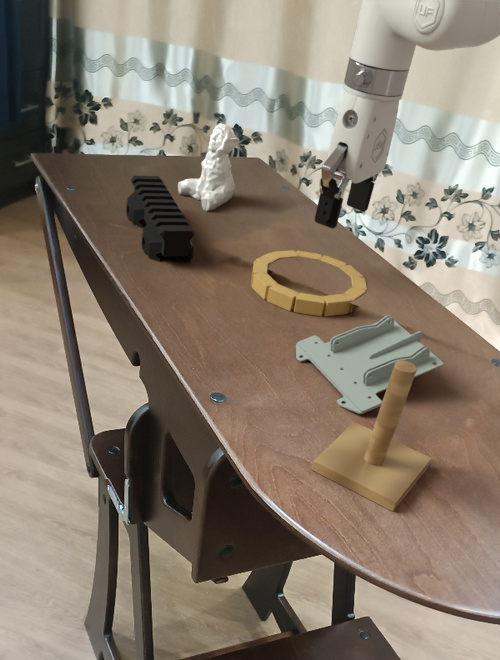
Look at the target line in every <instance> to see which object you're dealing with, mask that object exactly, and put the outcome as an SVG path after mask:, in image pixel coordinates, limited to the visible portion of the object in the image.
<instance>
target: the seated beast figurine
mask: <svg viewBox="0 0 500 660" xmlns="http://www.w3.org/2000/svg"><path fill="white" fill-rule="evenodd" d="M209 137H210V138H209V141H208V147H207V150H208V151H207V153H206V154H205V158H204V159H203V160H202V161H201V163H200V164H201V175H200V177H198V178H191V177H190V178H185V179H184V180H181V181H178V182H177V192H178V194H179V195H182V196H190V197H192V198H194V199H196V201H200V203H201V208H202V210H203V211H205V212H209V211H213V210H214V211H215V210H216V209H217V208H220V206H222V205H224V204H225V203H227V202H228V201H230V200H231V199H232V197H233V194H234V192H235V191H236V187H237V186H236V183H235V179H234V176H233V174H232V163H231V160H230V158H229V156H228V154H230V153H231V152H232V151H233V149H235V148H236V147H238V146H239V144H240V138H239V137H237V135H236V134H235V131H234V129H231V128H230V127H229V126H228V125H226V124H225V123H222V122H220V123H218V124H217V125H215V127H214V128H213V129H212V134H210V135H209Z"/></svg>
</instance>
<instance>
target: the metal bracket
mask: <svg viewBox="0 0 500 660" xmlns="http://www.w3.org/2000/svg"><path fill="white" fill-rule="evenodd" d="M422 337H423V331H422V330H418V331H417V332H414V333H412V334H411V333H409V332H408V331H407V330H406V329H405V328H404V327H402V325H400V324H399V323H398V322H397V321H395V318H394V317H393V316H391V315H390V314H387V315H385V316H384V317H382V318H381V319H380V320H378V321H377V322H374V323H371V324H367V325H361V326H357V327H354V328H352V329H350V330H347V331H345V332H342V333H340V334H337V335H334V336H332V337H331V339H330V341H328V342H324V341H323V340H322V338H321V337H319V336H317V335H315V334H314V335H311V336H309V337H307V338H304V339H301V340H299V341H297V343H295V356H296V357H295V359H296V360H297V361H298V362H299V363H302V362H305V361H310V362H311V363H312V364H313V366H315V367H316V369H317V370H318V371H319V372H320V373H321V374H322V375H323V376H324V377H325V378H326V379H327V381H328V382H329V383H331V385H332V386H333V387H334V388H335V389H336V390H337V391H338V392H339V393H340V394H341V395H342V396H343V397H342V396H341V398H338V399H337V400H336V404H337V405H338V406H339V407H341V408H343V409H346V410H348V411H350V412H353V413H356V414H358V415H363V414H365V413H367V412H370V411H372V410H374V409H377V408H379V407H381V404H382V401H383V400H382V399H381V398H379V396H378V395H377V394H378V393H382V392H384V391H386V389H387V386H388V383H389V380H390V377H391V374H392V371H393V368H394V365H395V363H396V362H397V361H407V362H410V363H412V364H414V365H415V366H416V367H417V371H416V374H415V376H414V378H417V377H419V376H421V375H423V374H427V373H428V372H431V371H433V370H436V369H438V368H440V367H442V366H443V365H444V362H443V361H442V360H441V359H440V358H439V357H438V356H436V355H435V354H434V353H433V352H432V351H431V349H430V348H429V347H428V346H426V345H423V344H422V343H421V340H422Z"/></svg>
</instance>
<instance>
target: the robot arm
mask: <svg viewBox="0 0 500 660" xmlns="http://www.w3.org/2000/svg"><path fill="white" fill-rule="evenodd" d="M498 37H500V0H361V4H360V9H359V13H358V17H357V22H356V26H355V31H354V35H353V39H352V44H351V49H350V54H349V57H348V62H347V66H346V71H345V76H344V79H343V84H342V88H343V90H345V92H344V95H343V98H342V101H341V104H340V107H339V110H338V113H337V117H336V121H335V124H334V127H333V131H332V135H331V139H330V142H329V147H328V151H327V156H326V160H325V161H324V163H322V166H321V178H320V180H319V181H320V182H319V184H320V187H319V197H318V202H317V207H316V211H315V215H314V222H315V223H317V224H319V225H321V226H323V227H326V228H329V229H331V230H332V229H336V228H337V226H338V222H339V218H340V214H341V210H342V206H343V201H344V198H342V195H343V193H344V192H345V190H346V187H348V184H349V182H350V181H351V184H350V188H349V191H348V192H349V193H348V196H347V200H346V205H347V206H348V207H350V208H352V209H356V210H358V211H360V212H366V211H368V209H369V206H370V203H371V199H372V195H373V191H374V187H375V184H376V183H375V182H376V181H377V179H378V176H379V174H380V173H382V172H383V171H384V169H385V167H386V165H387V162H388V158H389V154H390V150H391V145H392V141H393V136H394V132H395V127H396V124H397V123H396V122H397V119H398V112H399V106H400V101H401V100H402V98H403V95H404V91H405V87H406V83H407V80H408V76H409V72H410V69H411V66H412V62H413V58H414V54H415V51H416V48H417V46H418V47H419V48H421V49H425V50H429V51H435V52H436V51H437V52H438V51H439V52H440V51H450V50H455V49H465V48H476V47H480V46H483V45H486V44H487V43H489V42H491V41H493V40H495V39H497V38H498ZM337 180H339V181H340V182H339V184H337Z"/></svg>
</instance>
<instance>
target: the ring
mask: <svg viewBox="0 0 500 660" xmlns="http://www.w3.org/2000/svg"><path fill="white" fill-rule="evenodd" d="M291 258H303V259H310V260H316V261H321V262H323V263H326V264H328V265H331V266H333V267H337V268H339V269H340V270H341V271H343V272H344V273H345V274H346V275H347V276H349V277H350V279H351V287H350V288H349V289H347V290H346V291H344V292H343V293H337V294H330V295H329V294H328V295H318V294H312V293H304V292H299V291H296V290H293V289H291V288H289V287H287V286H284V285H281V284H279V283H278V282H277V281H276V280H275V279H273V278H272V276H271V274H274V271H272V270H271V269H269V265H270V264H272V263H274V262H276V261H277V260H280V259H291ZM250 286H251V288H252V289H253V290H254V291H255V292H256V293H257V294H258V296H260V298H261V299H263V300H264V301H265V300H266V302H268V303H269V304H272V305H274V306H277V307H279V308H281V309H285V310H286V311H289V312H291V311H293V313H296V314H303V315H310V316H316V317H322V316H324V317H333V316H341V315H348V314H349V313H350V314H351V313H353V312H354V311H355V310H357V309H358V308H359V307H360V306H359V305H357V304H354V303H352V301H356V300H357V299H359V298H360V297H362V296H363V295H364V294H365V293H366V292H367V291H368V288H367V281H366V277H364V274H361V272H359V271H358V270H357V269H356V268H354V267H353V266H352V265H350V264H348V263H347V262H344V261H341V260H339V259H336V258H334V257H331V256H328V255H326V254H324V255H322V253H317V252H309V251H303V250H296V251H295V250H294V249H292V250H291V249H290V250H278V251H271V252H267V253H266V254H264V255H262V256H260V257H258V258H256V259H254V261H253V265H252V271H251V281H250Z"/></svg>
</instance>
